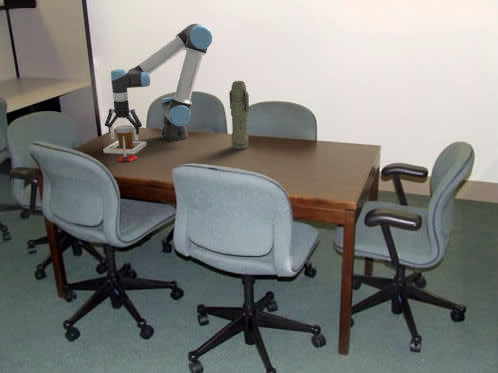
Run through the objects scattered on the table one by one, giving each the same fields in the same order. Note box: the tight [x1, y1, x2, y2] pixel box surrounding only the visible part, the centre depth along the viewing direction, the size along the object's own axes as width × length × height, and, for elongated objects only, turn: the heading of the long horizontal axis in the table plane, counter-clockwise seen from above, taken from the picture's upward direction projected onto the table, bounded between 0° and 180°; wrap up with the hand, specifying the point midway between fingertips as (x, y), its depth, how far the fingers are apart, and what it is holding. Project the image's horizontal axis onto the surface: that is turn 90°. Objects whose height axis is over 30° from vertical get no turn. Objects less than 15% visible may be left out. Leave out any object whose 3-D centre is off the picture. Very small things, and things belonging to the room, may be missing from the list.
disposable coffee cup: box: [114, 124, 134, 149], centre depth 295 cm, size 10×10×12 cm
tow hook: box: [118, 136, 138, 163], centre depth 278 cm, size 8×13×9 cm
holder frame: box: [103, 140, 148, 155], centre depth 297 cm, size 17×17×2 cm
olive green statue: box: [228, 80, 250, 150], centre depth 290 cm, size 9×12×35 cm
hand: (124, 139), depth 295 cm, fingers open, 13 cm apart
